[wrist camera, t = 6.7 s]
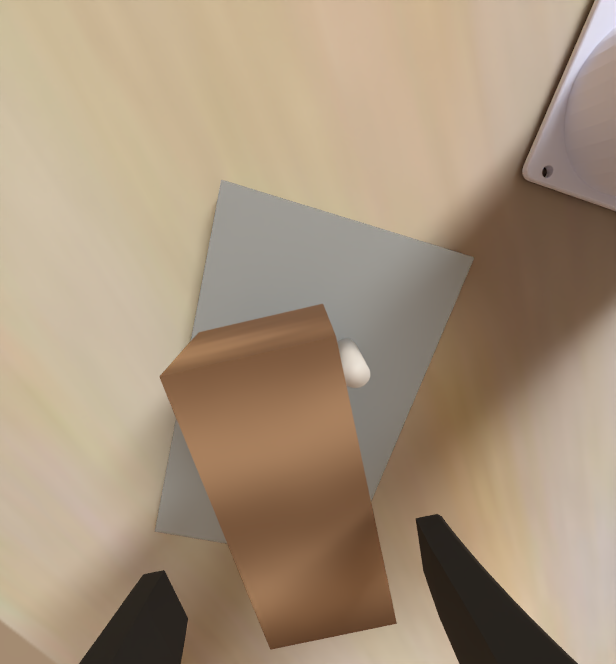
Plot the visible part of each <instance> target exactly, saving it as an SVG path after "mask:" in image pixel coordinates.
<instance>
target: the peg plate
mask: <svg viewBox="0 0 616 664" xmlns="http://www.w3.org/2000/svg"><path fill="white" fill-rule="evenodd" d="M473 260H474V257H472V256H468V255H465V254H462V253H459V252H455V251H452V250H449V249H446V248H442V247H439V246H436V245H432V244H429V243H426V242H423V241H419V240H416V239H413V238H410V237H406V236H403V235H400V234H397V233H393V232H390V231H387V230H384V229H380V228H377V227H374V226H371V225H367V224H364V223H361V222H358V221H354V220H351V219H348V218H345V217H341V216H338V215H335V214H331V213H328V212H325V211H322V210H318V209H315V208H312V207H309V206H305V205H302V204H299V203H296V202H292V201H289V200H286V199H283V198H279V197H276V196H273V195H270V194H266V193H263V192H260V191H257V190H253V189H250V188H247V187H244V186H240V185H237V184H234V183H231V182H227V181H224V180H221V184H220V190H219V195H218V200H217V206H216V211H215V216H214V221H213V227H212V232H211V237H210V242H209V248H208V253H207V258H206V264H205V269H204V274H203V279H202V285H201V290H200V295H199V301H198V306H197V311H196V316H195V322H194V327H193V332H192V337H191V340H192V339H193V338H194V337H195V336H196V335H197V334H198V332H202V331H206V330H211V329H215V328H219V327H224V326H228V325H232V324H237V323H241V322H245V321H250V320H254V319H258V318H263V317H267V316H271V315H276V314H280V313H284V312H288V311H293V310H297V309H301V308H306V307H310V306H314V305H319V304H323V305H324V307H325V310H326V312H327V315H328V317H329V320H330V322H331V325H332V327H333V330H334V332H335V335H336V338H337V343H338V348H339V353H340V357H341V362H342V367H343V372H344V376H345V381H346V386H347V391H348V395H349V400H350V405H351V410H352V414H353V419H354V424H355V428H356V433H357V438H358V443H359V447H360V452H361V457H362V462H363V466H364V471H365V476H366V481H367V485H368V490H369V495H370V500H371V501H372V499H373V496H374V494H375V491H376V489H377V487H378V484H379V482H380V480H381V477H382V475H383V473H384V470H385V468H386V465H387V463H388V461H389V458H390V456H391V454H392V451H393V449H394V447H395V444H396V442H397V439H398V437H399V435H400V432H401V430H402V428H403V425H404V423H405V420H406V418H407V416H408V413H409V411H410V409H411V406H412V404H413V402H414V399H415V397H416V394H417V392H418V390H419V387H420V385H421V383H422V380H423V378H424V376H425V373H426V371H427V368H428V366H429V364H430V361H431V359H432V357H433V354H434V352H435V350H436V347H437V345H438V342H439V340H440V338H441V335H442V333H443V331H444V328H445V326H446V324H447V321H448V319H449V316H450V314H451V312H452V309H453V307H454V305H455V302H456V300H457V298H458V295H459V293H460V290H461V288H462V286H463V283H464V281H465V279H466V276H467V274H468V272H469V269H470V267H471V264H472V262H473ZM155 532H161V533H167V534H173V535H179V536H185V537H190V538H196V539H202V540H208V541H214V542H220V543H226V544H227V541H226V539H225V537H224V534H223V532H222V529H221V527H220V524H219V522H218V519H217V517H216V514H215V512H214V510H213V507H212V505H211V502H210V500H209V497H208V495H207V492H206V490H205V487H204V485H203V482H202V480H201V478H200V475H199V473H198V470H197V468H196V465H195V463H194V460H193V458H192V455H191V453H190V451H189V448H188V446H187V443H186V441H185V438H184V436H183V433H182V431H181V428H180V426H179V423H178V421H177V419H176V422H175V427H174V432H173V438H172V443H171V448H170V454H169V459H168V464H167V469H166V475H165V480H164V485H163V490H162V496H161V501H160V506H159V512H158V517H157V522H156V527H155Z"/></svg>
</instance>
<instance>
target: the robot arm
mask: <svg viewBox="0 0 616 664" xmlns="http://www.w3.org/2000/svg"><path fill="white" fill-rule="evenodd" d="M544 167H545V168H546V169H547V174H546V176H545V177H543V175H542V170H543V168H544ZM522 173H523V176H524V178H525V179H526V180H528V181H530V182H533V183H536V184H539V185H542V186H545V187H548V188H550V189H553V190H556V191H559V192H562V193H565V194H568V195H571V196H573V197H576V198H579V199H582V200H585V201H588V202H591V203H594V204H596V205H599V206H602V207H605V208H608V209H611V210H614V211H616V0H595V1H594V4H593V6H592V8H591V11H590V13H589V15H588V18H587V20H586V22H585V24H584V27H583V29H582V31H581V34H580V36H579V38H578V41H577V43H576V45H575V48H574V50H573V52H572V55H571V57H570V59H569V62H568V64H567V66H566V69H565V71H564V73H563V75H562V78H561V80H560V82H559V85H558V87H557V89H556V92H555V94H554V96H553V99H552V101H551V103H550V106H549V108H548V110H547V113H546V115H545V117H544V120H543V122H542V124H541V126H540V129H539V131H538V133H537V136H536V138H535V140H534V143H533V145H532V147H531V150H530V152H529V154H528V157H527V159H526V161H525V164H524V166H523V170H522ZM416 524H417V531H418V537H419V544H420V551H421V558H422V564H423V571H424V574H425V577H426V580H427V583H428V586H429V589H430V592H431V595H432V597H433V600H434V603H435V606H436V609H437V612H438V615H439V617H440V620H441V622H442V624H443V627H444V629H445V631H446V634H447V636H448V638H449V641H450V643H451V645H452V648H453V650H454V652H455V655H456V657H457V659H458V661H459V664H578V663H577V662H576V661H574V660H573V659H572V658H571V657H570V656H569V655H568V654H567V653H566V652H565V651H564V650H563V649H562V648H561V647H560V646H559V645H558V644H557V643H556V642H555V641H554V640H553V639H552V638H551V637H550V636H549V635H548V634H547V633H546V632H545V631H544V630H543V629H542V628H541V627H540V626H539V625H538V624H537V623H536V622H535V621H534V620H532V619H531V618H530V617H529V615H528V614H527V613H526V612H525V611H524V610H523V609H522V608H521V607H520V606H519V605H518V604H517V603H516V602H515V601H514V600H513V599H512V598H511V597H510V596H509V595H508V594H507V592H506V591H505V590H504V589H503V588H502V587H501V586H500V585H499V584H498V583H497V582H496V581H495V580H494V578H493V577H492V576H491V575H490V574H489V573H488V572H487V571H486V570H485V569H484V567H483V566H482V565H481V564H480V563H479V562H478V561H477V559H476V558H475V557H474V556H473V555H472V554H471V552H470V551H469V550H468V549H467V548H466V547H465V545H464V544H463V543H462V542H461V541H460V539H459V538H458V537H457V536H456V534H455V533H454V532H453V531H452V529H451V528H450V527H449V526H448V524H447V523H446V522H445V520H444V519H443V518H442V516H440V515H438V514H435V515H430V516H425V517H420V518H416ZM187 621H188V617H187V615H186V613H185V611H184V609H183V607H182V605H181V603H180V601H179V599H178V597H177V595H176V593H175V591H174V589H173V587H172V585H171V583H170V581H169V579H168V577H167V575H166V573H165V571H164V570H163V571H158V572H153V573H148V574H144V575H143V576H142V577H141V579H140V580H139V581H138V583H137V584H136V585H135V587H134V588H133V589H132V591H131V592H130V594H129V595H128V596H127V598H126V599H125V601H124V602H123V603H122V605H121V606H120V608H119V609H118V610H117V612H116V613H115V615H114V616H113V617H112V619H111V620H110V622H109V623H108V624H107V626H106V627H105V629H104V630H103V631H102V633H101V634H100V636H99V637H98V638H97V640H96V641H95V642H94V644H93V645H92V647H91V648H90V649H89V651H88V652H87V653H86V655H85V656H84V658H83V659H82V660H81V662H80V663H79V664H181V659H182V653H183V647H184V641H185V635H186V628H187Z"/></svg>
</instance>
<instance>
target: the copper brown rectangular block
mask: <svg viewBox="0 0 616 664" xmlns="http://www.w3.org/2000/svg"><path fill="white" fill-rule="evenodd" d="M160 379H161V382H162V384H163V387H164V389H165V391H166V394H167V396H168V399H169V401H170V404H171V406H172V409H173V411H174V414H175V416H176V419H177V421H178V423H179V426H180V428H181V431H182V433H183V436H184V438H185V441H186V443H187V446H188V448H189V451H190V453H191V455H192V458H193V460H194V463H195V465H196V468H197V470H198V473H199V475H200V478H201V480H202V482H203V485H204V487H205V490H206V492H207V495H208V497H209V500H210V502H211V505H212V507H213V510H214V512H215V514H216V517H217V519H218V522H219V524H220V527H221V529H222V532H223V534H224V537H225V539H226V541H227V544H228V546H229V549H230V551H231V554H232V556H233V559H234V561H235V564H236V566H237V569H238V571H239V573H240V576H241V578H242V581H243V583H244V586H245V588H246V591H247V593H248V596H249V598H250V600H251V603H252V605H253V608H254V610H255V613H256V615H257V618H258V620H259V623H260V625H261V628H262V630H263V632H264V635H265V637H266V640H267V642H268V645H269V647H270V649H275V648H280V647H285V646H290V645H295V644H300V643H304V642H309V641H314V640H319V639H324V638H329V637H334V636H339V635H343V634H348V633H353V632H358V631H363V630H368V629H373V628H378V627H382V626H387V625H392V624H397V623H396V618H395V613H394V609H393V604H392V599H391V594H390V590H389V585H388V580H387V575H386V571H385V566H384V561H383V557H382V552H381V547H380V542H379V538H378V533H377V528H376V523H375V519H374V514H373V509H372V504H371V500H370V495H369V490H368V485H367V481H366V476H365V471H364V466H363V462H362V457H361V452H360V447H359V443H358V438H357V433H356V428H355V424H354V419H353V414H352V410H351V405H350V400H349V395H348V391H347V386H346V381H345V376H344V372H343V367H342V362H341V357H340V353H339V348H338V343H337V338H336V335H335V332H334V330H333V327H332V325H331V322H330V320H329V317H328V315H327V312H326V310H325V307H324V305H323V304H319V305H314V306H310V307H306V308H301V309H297V310H293V311H288V312H284V313H280V314H276V315H271V316H267V317H263V318H258V319H254V320H250V321H245V322H241V323H237V324H232V325H228V326H224V327H219V328H215V329H211V330H206V331H202V332H198V334H197V335H196V336H195V337H194V338H193V339H192V340H191V342H190V343H189V344H188V345H187V346H186V347H185V348H184V349H183V351H182V352H181V353H180V354H179V355H178V356H177V357H176V358H175V360H174V361H173V362H172V363H171V364H170V365H169V366H168V368H167V369H166V370H165V371H164V372H163V373H162V374H161V375H160Z"/></svg>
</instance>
